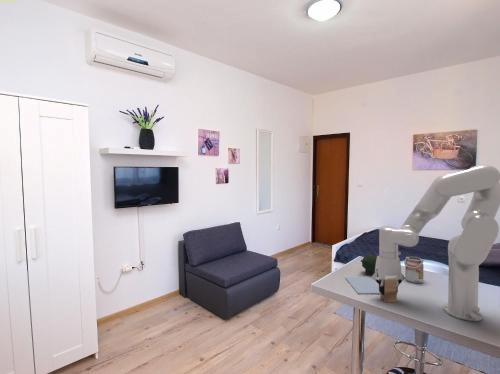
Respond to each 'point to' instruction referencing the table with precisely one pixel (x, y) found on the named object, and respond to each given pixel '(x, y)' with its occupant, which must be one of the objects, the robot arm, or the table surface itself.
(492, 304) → the table surface
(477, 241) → the robot arm
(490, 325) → the table surface
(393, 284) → the brown tall block
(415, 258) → the beverage can
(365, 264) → the toy figurine
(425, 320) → the table surface
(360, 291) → the rubber mat
